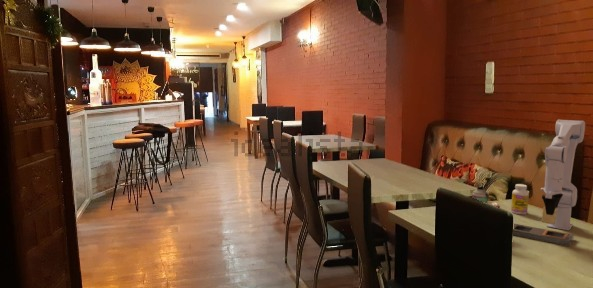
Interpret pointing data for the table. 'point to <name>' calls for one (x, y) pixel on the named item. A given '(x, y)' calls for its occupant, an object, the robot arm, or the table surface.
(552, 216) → the tan square knob peg
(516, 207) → the supplement bottle
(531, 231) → the grey slotted board
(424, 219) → the table surface
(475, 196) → the spray can
